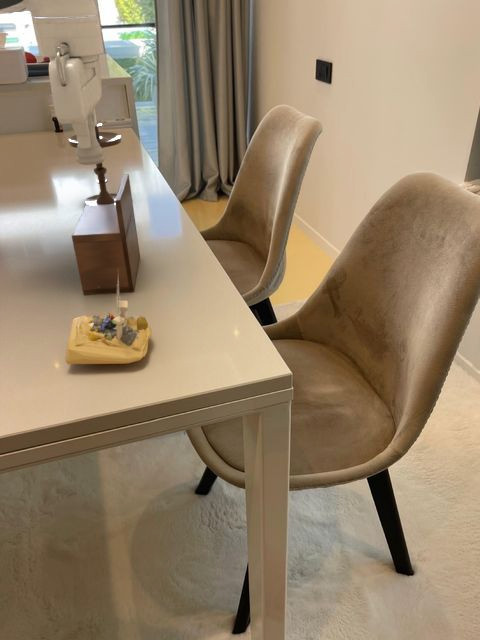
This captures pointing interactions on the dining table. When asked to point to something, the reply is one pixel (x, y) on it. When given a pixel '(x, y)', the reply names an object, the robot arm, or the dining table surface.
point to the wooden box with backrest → (108, 245)
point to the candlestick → (100, 166)
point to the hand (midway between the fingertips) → (88, 143)
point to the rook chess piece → (94, 152)
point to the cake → (108, 338)
